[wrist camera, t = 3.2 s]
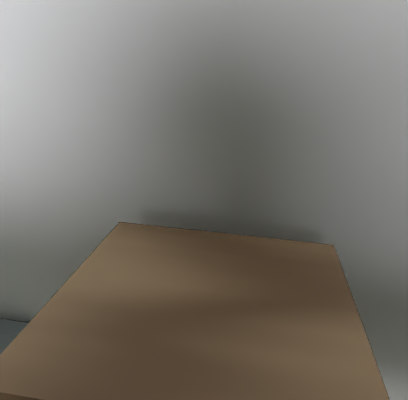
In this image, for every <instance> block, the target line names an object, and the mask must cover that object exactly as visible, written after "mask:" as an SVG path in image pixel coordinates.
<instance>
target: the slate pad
mask: <svg viewBox="0 0 408 400" xmlns="http://www.w3.org/2000/svg"><path fill="white" fill-rule="evenodd" d="M27 324H28V323H26V322H19V321H12V320H6V319H0V354H1V353H2V352H3V351H4V350H5V349H6V348H7V347H8V346H9V344H10V343H11V342H12V341H13V340H14V339H15V338H16V337H17V336H18V334H19V333H20V332H21V331H22V330H23V329H24V328H25V327H26V326H27Z"/></svg>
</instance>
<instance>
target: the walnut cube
mask: <svg viewBox="0 0 408 400" xmlns="http://www.w3.org/2000/svg"><path fill="white" fill-rule="evenodd" d="M0 400H390V399H389V396H388V394H387V391H386V388H385V385H384V382H383V380H382V377H381V374H380V371H379V369H378V366H377V363H376V360H375V358H374V355H373V352H372V349H371V347H370V344H369V341H368V338H367V335H366V333H365V330H364V327H363V324H362V322H361V319H360V316H359V313H358V311H357V308H356V305H355V302H354V299H353V297H352V294H351V291H350V288H349V286H348V283H347V280H346V277H345V275H344V272H343V269H342V266H341V264H340V261H339V258H338V255H337V252H336V250H335V247H334V245H330V244H321V243H312V242H302V241H293V240H283V239H274V238H265V237H255V236H246V235H237V234H227V233H218V232H208V231H199V230H190V229H180V228H171V227H162V226H152V225H143V224H133V223H124V222H119V223H118V224H117V226H116V227H115V228H114V229H113V230H112V231H111V232H110V233H109V234H108V236H107V237H106V238H105V239H104V240H103V241H102V242H101V243H100V244H99V246H98V247H97V248H96V249H95V250H94V251H93V252H92V253H91V254H90V256H89V257H88V258H87V259H86V260H85V261H84V262H83V263H82V264H81V266H80V267H79V268H78V269H77V270H76V271H75V272H74V273H73V274H72V276H71V277H70V278H69V279H68V280H67V281H66V282H65V283H64V284H63V286H62V287H61V288H60V289H59V290H58V291H57V292H56V293H55V294H54V296H53V297H52V298H51V299H50V300H49V301H48V302H47V303H46V304H45V306H44V307H43V308H42V309H41V310H40V311H39V312H38V313H37V314H36V316H35V317H34V318H33V319H32V320H31V321H30V322H29V323H28V324H27V326H26V327H25V328H24V329H23V330H22V331H21V332H20V333H19V334H18V336H17V337H16V338H15V339H14V340H13V341H12V342H11V343H10V344H9V346H8V347H7V348H6V349H5V350H4V351H3V352H2V353H1V354H0Z"/></svg>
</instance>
